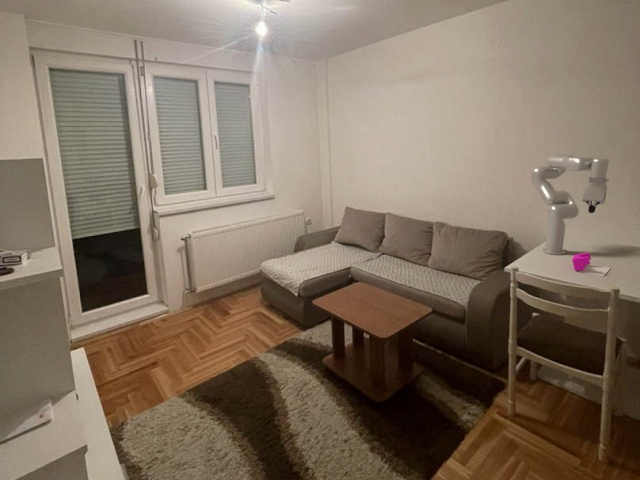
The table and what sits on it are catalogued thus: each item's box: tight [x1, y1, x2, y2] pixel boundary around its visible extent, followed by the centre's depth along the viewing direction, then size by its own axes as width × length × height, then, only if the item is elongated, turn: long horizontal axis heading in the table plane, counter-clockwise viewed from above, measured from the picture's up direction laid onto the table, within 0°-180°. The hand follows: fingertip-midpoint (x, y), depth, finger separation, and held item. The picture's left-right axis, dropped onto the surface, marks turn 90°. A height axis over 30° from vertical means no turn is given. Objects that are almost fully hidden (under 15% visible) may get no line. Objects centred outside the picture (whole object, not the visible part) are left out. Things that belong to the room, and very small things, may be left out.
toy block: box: [571, 252, 592, 271], centre depth 213 cm, size 15×6×8 cm
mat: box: [577, 263, 612, 277], centre depth 211 cm, size 18×12×1 cm, turn 133°
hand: (591, 212), depth 216 cm, fingers closed
